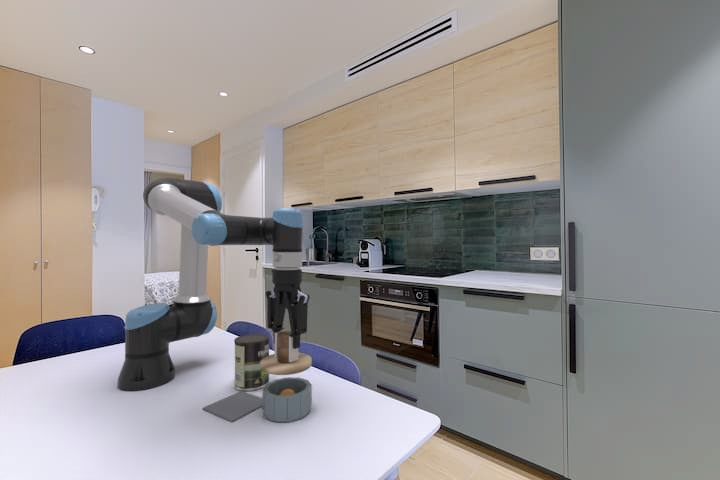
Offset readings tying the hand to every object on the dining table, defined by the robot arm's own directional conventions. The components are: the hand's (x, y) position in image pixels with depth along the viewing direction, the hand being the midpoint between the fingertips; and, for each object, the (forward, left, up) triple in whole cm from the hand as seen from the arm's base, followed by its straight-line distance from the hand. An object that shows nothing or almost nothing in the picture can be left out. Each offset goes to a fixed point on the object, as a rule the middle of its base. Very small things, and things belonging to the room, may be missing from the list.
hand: (286, 358), depth 86 cm
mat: (-13, -6, -13) cm, 19 cm away
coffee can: (-21, +6, -13) cm, 25 cm away
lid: (0, 0, -2) cm, 2 cm away
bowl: (0, 0, -13) cm, 13 cm away
